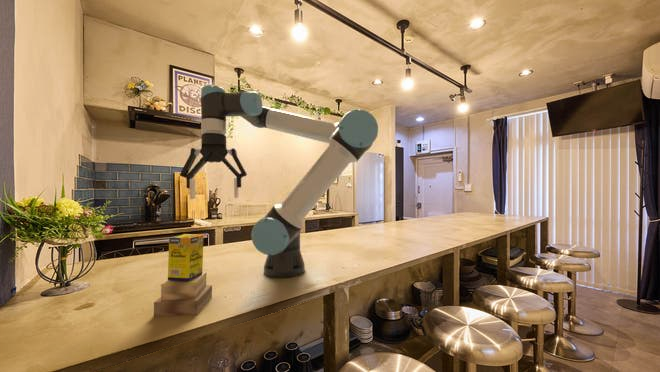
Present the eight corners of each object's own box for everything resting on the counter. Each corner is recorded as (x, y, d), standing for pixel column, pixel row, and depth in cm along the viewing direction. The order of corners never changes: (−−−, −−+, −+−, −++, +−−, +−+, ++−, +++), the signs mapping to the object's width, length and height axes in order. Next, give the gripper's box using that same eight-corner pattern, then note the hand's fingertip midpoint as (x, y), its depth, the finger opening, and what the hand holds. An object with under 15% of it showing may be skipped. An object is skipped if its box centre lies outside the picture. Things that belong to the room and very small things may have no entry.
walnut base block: (211, 299, 72) (212, 285, 72) (197, 316, 62) (197, 300, 62) (174, 300, 71) (174, 286, 71) (153, 319, 61) (153, 302, 61)
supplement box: (189, 281, 64) (190, 237, 64) (166, 280, 64) (168, 237, 65) (203, 274, 69) (204, 234, 70) (182, 273, 70) (183, 233, 70)
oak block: (206, 286, 71) (206, 272, 71) (196, 298, 63) (196, 282, 63) (175, 288, 70) (175, 273, 70) (161, 300, 62) (161, 284, 62)
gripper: (254, 137, 90) (255, 196, 90) (177, 136, 86) (178, 198, 85) (251, 132, 83) (252, 197, 82) (167, 130, 78) (168, 199, 78)
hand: (214, 198), depth 84 cm, fingers open, 13 cm apart
